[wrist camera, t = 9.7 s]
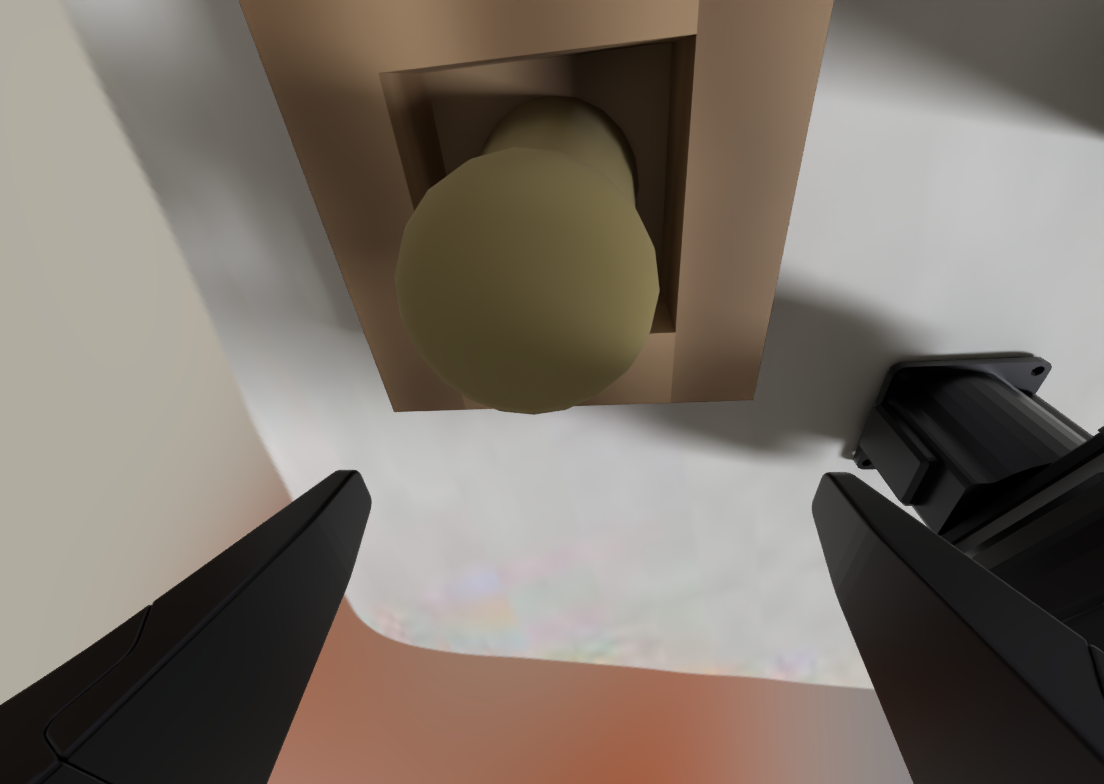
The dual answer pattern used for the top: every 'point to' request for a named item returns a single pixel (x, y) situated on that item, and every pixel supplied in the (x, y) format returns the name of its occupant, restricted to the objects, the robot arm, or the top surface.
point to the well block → (571, 71)
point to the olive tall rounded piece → (532, 263)
